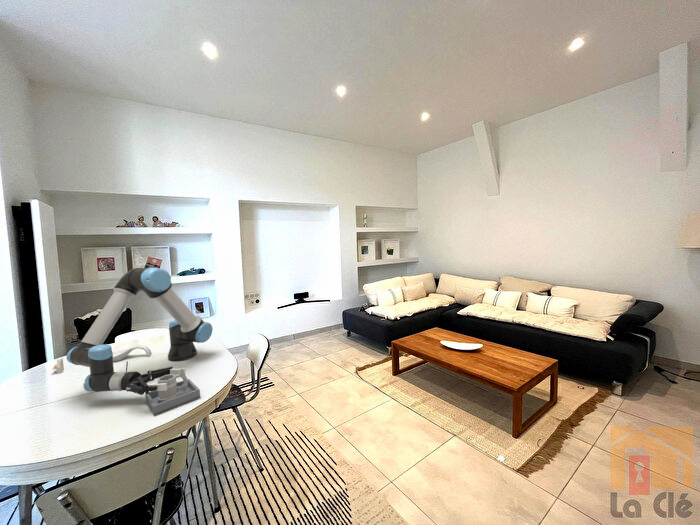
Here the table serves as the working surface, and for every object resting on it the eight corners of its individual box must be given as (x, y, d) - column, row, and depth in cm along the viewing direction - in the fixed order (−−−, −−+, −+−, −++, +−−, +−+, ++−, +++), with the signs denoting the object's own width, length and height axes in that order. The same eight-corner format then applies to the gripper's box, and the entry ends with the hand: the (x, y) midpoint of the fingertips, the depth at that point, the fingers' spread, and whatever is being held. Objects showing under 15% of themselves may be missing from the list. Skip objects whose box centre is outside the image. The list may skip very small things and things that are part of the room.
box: (189, 386, 133) (188, 378, 133) (200, 398, 123) (199, 389, 122) (145, 402, 121) (145, 393, 121) (154, 416, 110) (153, 406, 110)
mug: (155, 400, 120) (153, 373, 119) (185, 389, 129) (184, 364, 128) (160, 407, 115) (157, 378, 114) (191, 395, 124) (189, 368, 123)
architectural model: (53, 376, 150) (51, 362, 150) (55, 371, 156) (54, 358, 155) (62, 374, 152) (60, 360, 152) (64, 369, 158) (63, 356, 157)
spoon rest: (99, 365, 162) (98, 353, 161) (110, 357, 173) (109, 346, 172) (146, 359, 168) (145, 347, 168) (154, 352, 180) (153, 341, 179)
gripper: (147, 375, 133) (192, 373, 134) (102, 406, 108) (157, 403, 109) (145, 360, 133) (191, 358, 133) (100, 387, 108) (156, 385, 108)
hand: (176, 378), depth 121 cm, fingers open, 13 cm apart
